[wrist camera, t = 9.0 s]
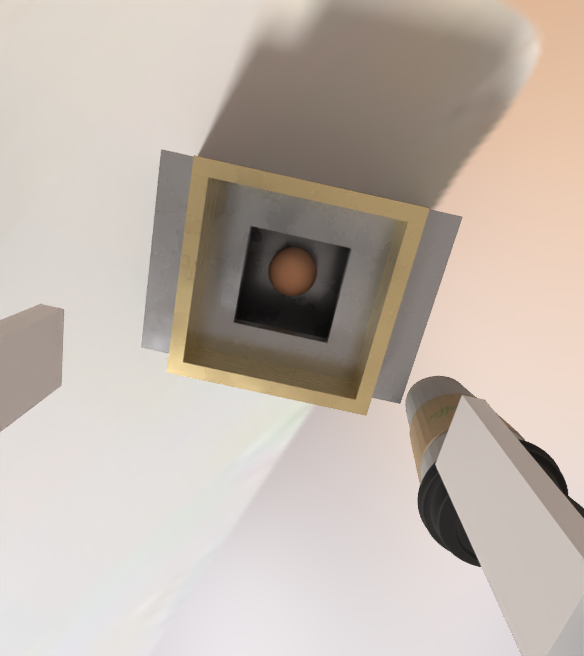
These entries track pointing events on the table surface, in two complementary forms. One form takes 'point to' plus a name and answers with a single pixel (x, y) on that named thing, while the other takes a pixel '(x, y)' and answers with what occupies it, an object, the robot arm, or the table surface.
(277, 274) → the ball
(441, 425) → the coffee cup
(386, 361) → the open square box
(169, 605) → the table surface
